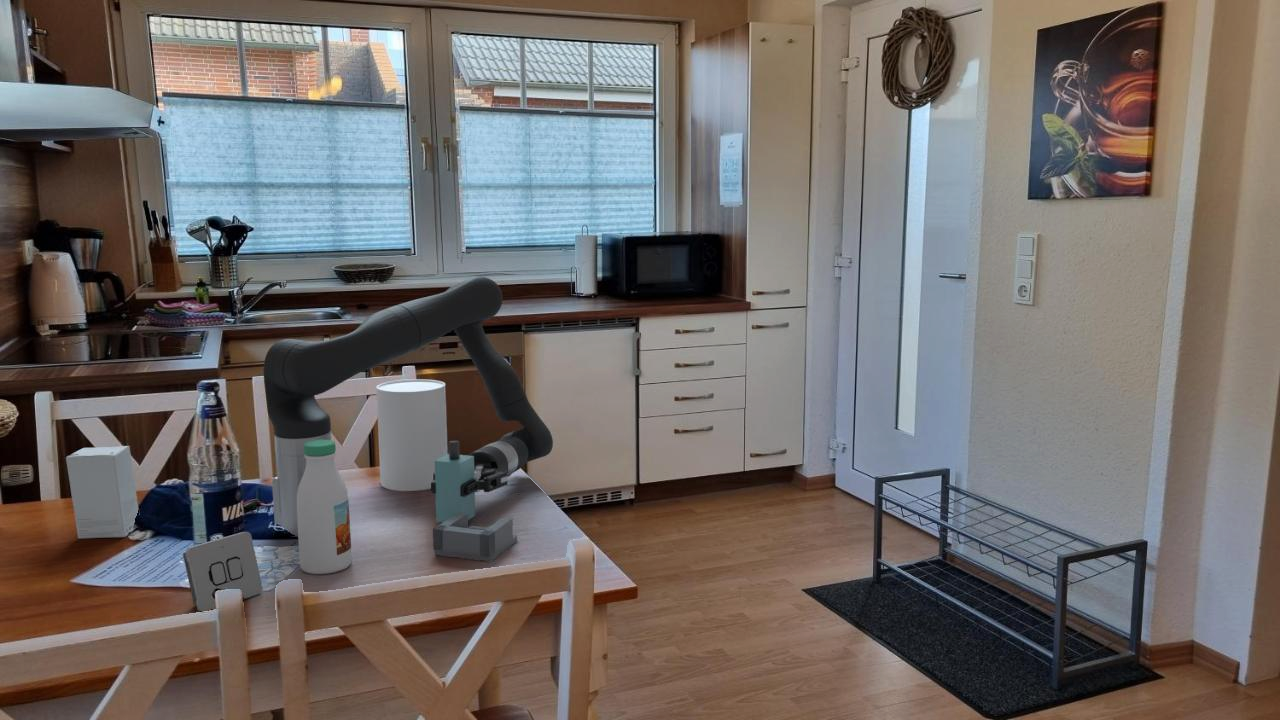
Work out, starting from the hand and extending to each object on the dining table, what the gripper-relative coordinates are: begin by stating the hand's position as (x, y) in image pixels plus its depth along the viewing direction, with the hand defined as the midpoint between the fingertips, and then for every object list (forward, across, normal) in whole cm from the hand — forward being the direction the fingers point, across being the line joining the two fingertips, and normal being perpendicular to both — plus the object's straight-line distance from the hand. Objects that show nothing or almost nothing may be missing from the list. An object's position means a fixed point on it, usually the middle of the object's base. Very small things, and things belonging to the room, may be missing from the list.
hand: (448, 489), depth 163 cm
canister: (-24, -21, +7) cm, 32 cm away
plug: (-3, 0, +6) cm, 7 cm away
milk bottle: (+21, -10, +7) cm, 25 cm away
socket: (+7, +9, +7) cm, 13 cm away
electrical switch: (+37, -16, +8) cm, 41 cm away
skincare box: (+20, -55, +8) cm, 59 cm away
